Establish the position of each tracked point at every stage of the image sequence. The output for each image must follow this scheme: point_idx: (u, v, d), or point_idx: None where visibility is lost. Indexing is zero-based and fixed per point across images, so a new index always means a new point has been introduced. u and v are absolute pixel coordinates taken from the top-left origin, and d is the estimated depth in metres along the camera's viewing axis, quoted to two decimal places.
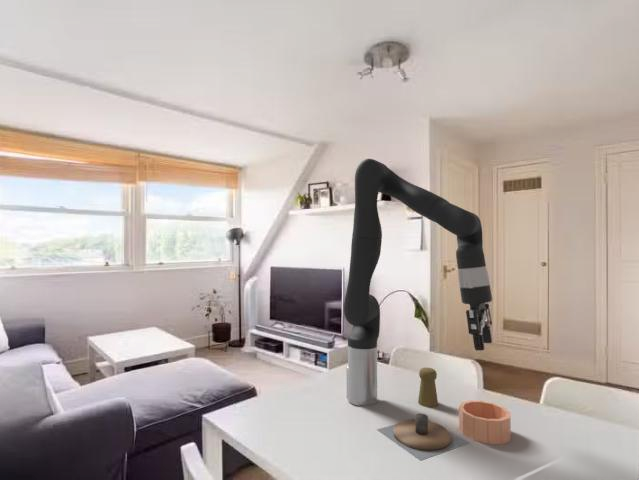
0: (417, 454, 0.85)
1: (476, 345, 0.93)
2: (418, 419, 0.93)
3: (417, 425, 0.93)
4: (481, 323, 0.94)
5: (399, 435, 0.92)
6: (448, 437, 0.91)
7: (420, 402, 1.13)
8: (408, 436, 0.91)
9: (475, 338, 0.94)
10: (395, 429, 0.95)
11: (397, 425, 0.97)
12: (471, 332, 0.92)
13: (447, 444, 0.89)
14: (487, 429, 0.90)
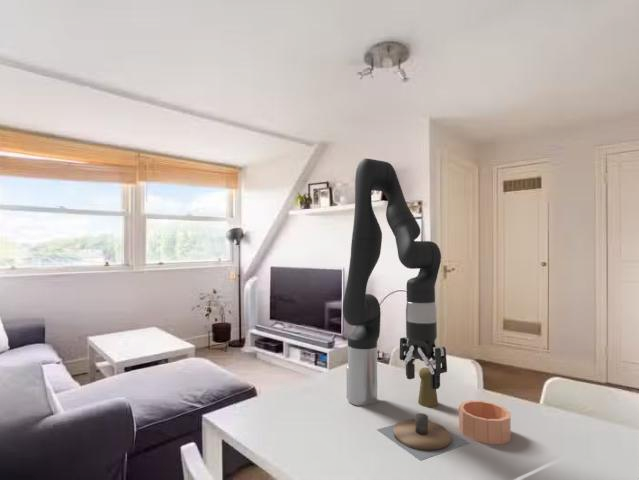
0: (417, 454, 0.85)
1: None
2: (418, 419, 0.93)
3: (417, 425, 0.93)
4: None
5: (399, 435, 0.92)
6: (448, 437, 0.91)
7: (420, 402, 1.13)
8: (408, 436, 0.91)
9: None
10: (395, 429, 0.95)
11: (397, 425, 0.97)
12: None
13: (447, 444, 0.89)
14: (487, 429, 0.90)
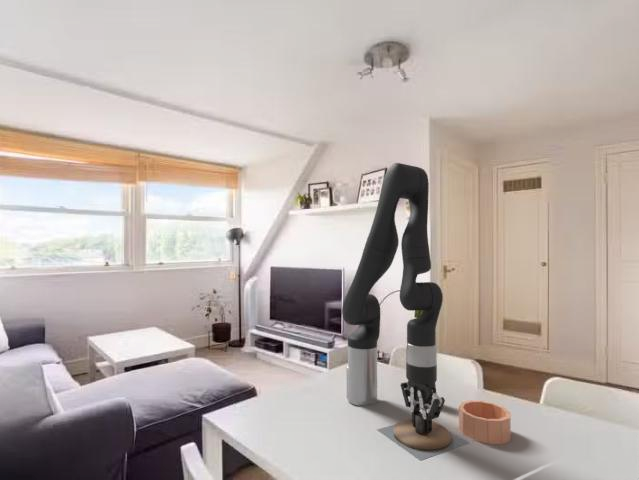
0: (417, 454, 0.85)
1: None
2: (418, 419, 0.93)
3: (417, 425, 0.93)
4: None
5: (399, 435, 0.92)
6: (448, 437, 0.91)
7: None
8: (408, 436, 0.91)
9: None
10: (395, 429, 0.95)
11: (397, 425, 0.97)
12: None
13: (447, 444, 0.89)
14: (487, 429, 0.90)
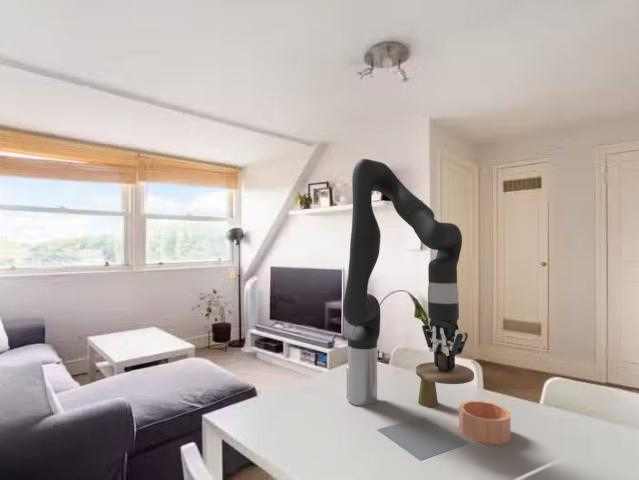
0: (417, 454, 0.85)
1: None
2: (441, 357, 0.93)
3: (440, 362, 0.94)
4: None
5: (422, 372, 0.93)
6: (471, 373, 0.92)
7: (420, 402, 1.13)
8: (431, 373, 0.92)
9: None
10: (418, 368, 0.96)
11: (419, 366, 0.98)
12: None
13: (471, 378, 0.89)
14: (487, 429, 0.90)
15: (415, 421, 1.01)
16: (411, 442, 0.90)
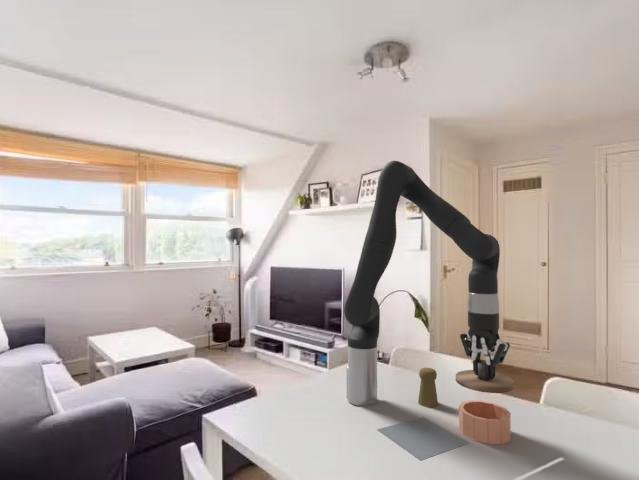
0: (417, 454, 0.85)
1: None
2: (481, 366, 0.95)
3: (480, 371, 0.95)
4: None
5: (463, 381, 0.94)
6: (512, 382, 0.94)
7: (420, 402, 1.13)
8: (472, 381, 0.94)
9: None
10: (457, 377, 0.97)
11: (458, 374, 1.00)
12: None
13: (512, 387, 0.91)
14: (487, 429, 0.90)
15: (415, 421, 1.01)
16: (411, 442, 0.90)
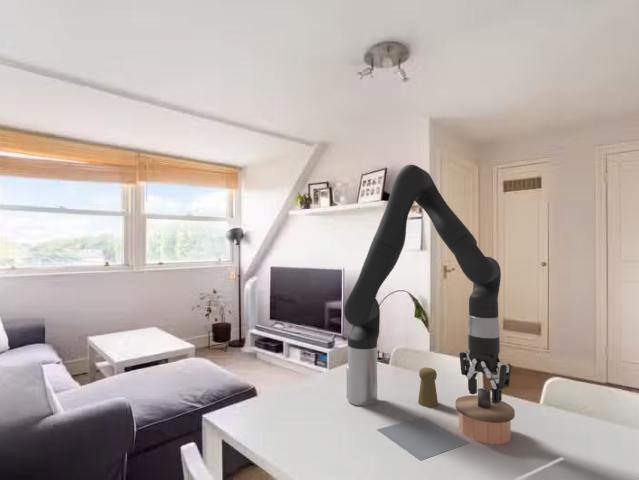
0: (417, 454, 0.85)
1: None
2: (482, 393, 0.95)
3: (481, 399, 0.95)
4: None
5: (463, 409, 0.94)
6: (512, 410, 0.93)
7: (420, 402, 1.13)
8: (473, 409, 0.94)
9: None
10: (457, 404, 0.97)
11: (458, 400, 0.99)
12: None
13: (512, 416, 0.91)
14: (487, 429, 0.90)
15: (415, 421, 1.01)
16: (411, 442, 0.90)
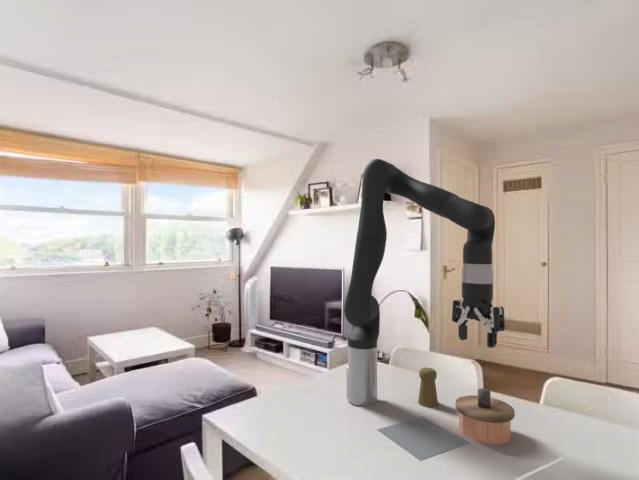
0: (417, 454, 0.85)
1: None
2: (482, 393, 0.95)
3: (481, 399, 0.95)
4: None
5: (463, 409, 0.94)
6: (512, 410, 0.93)
7: (420, 402, 1.13)
8: (473, 409, 0.94)
9: None
10: (457, 404, 0.97)
11: (458, 400, 0.99)
12: None
13: (512, 416, 0.91)
14: (487, 429, 0.90)
15: (415, 421, 1.01)
16: (411, 442, 0.90)
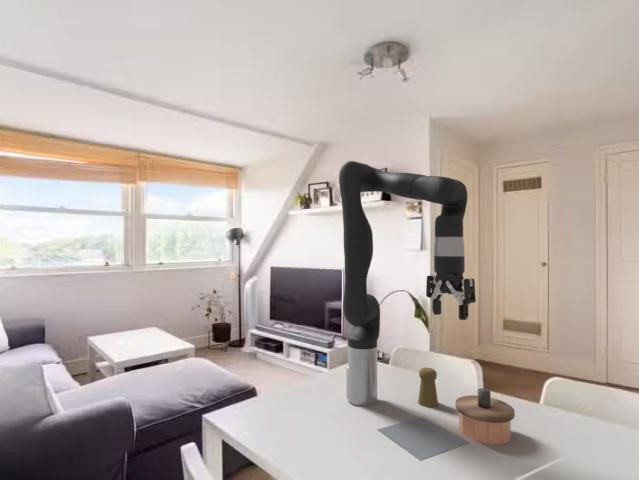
0: (417, 454, 0.85)
1: None
2: (482, 393, 0.95)
3: (481, 399, 0.95)
4: None
5: (463, 409, 0.94)
6: (512, 410, 0.93)
7: (420, 402, 1.13)
8: (473, 409, 0.94)
9: None
10: (457, 404, 0.97)
11: (458, 400, 0.99)
12: None
13: (512, 416, 0.91)
14: (487, 429, 0.90)
15: (415, 421, 1.01)
16: (411, 442, 0.90)
